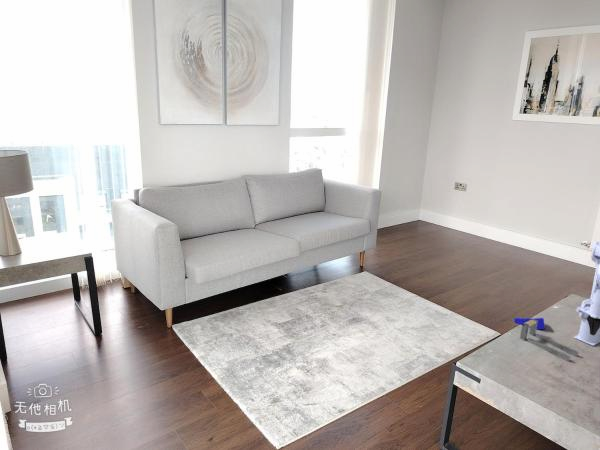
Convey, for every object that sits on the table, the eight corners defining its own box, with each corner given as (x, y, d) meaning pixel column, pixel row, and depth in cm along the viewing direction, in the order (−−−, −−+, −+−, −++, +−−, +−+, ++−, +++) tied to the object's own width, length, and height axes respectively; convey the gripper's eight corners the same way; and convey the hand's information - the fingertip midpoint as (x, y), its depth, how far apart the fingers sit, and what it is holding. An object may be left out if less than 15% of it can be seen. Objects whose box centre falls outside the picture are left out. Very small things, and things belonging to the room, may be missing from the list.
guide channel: (536, 337, 187) (537, 333, 187) (577, 356, 174) (578, 351, 173) (527, 342, 183) (527, 338, 183) (568, 361, 169) (569, 357, 169)
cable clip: (544, 328, 191) (544, 327, 196) (543, 318, 192) (543, 317, 197) (515, 328, 197) (515, 327, 202) (514, 318, 198) (514, 317, 203)
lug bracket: (530, 334, 190) (533, 318, 188) (534, 336, 188) (538, 320, 186) (519, 339, 185) (522, 323, 183) (524, 341, 183) (527, 325, 181)
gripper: (575, 299, 172) (569, 329, 175) (616, 313, 160) (608, 345, 164) (583, 295, 176) (577, 324, 179) (624, 309, 164) (616, 340, 168)
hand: (592, 334), depth 172 cm, fingers closed
